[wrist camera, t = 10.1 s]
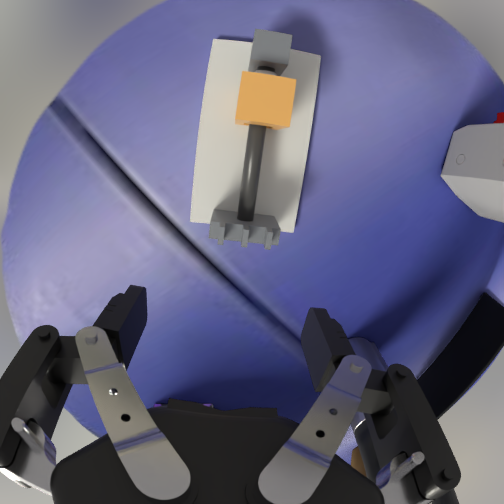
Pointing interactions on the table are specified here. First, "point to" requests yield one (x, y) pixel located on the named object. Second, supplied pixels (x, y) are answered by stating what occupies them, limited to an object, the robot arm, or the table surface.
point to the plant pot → (357, 461)
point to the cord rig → (252, 144)
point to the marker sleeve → (265, 100)
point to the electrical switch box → (478, 167)
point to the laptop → (465, 356)
